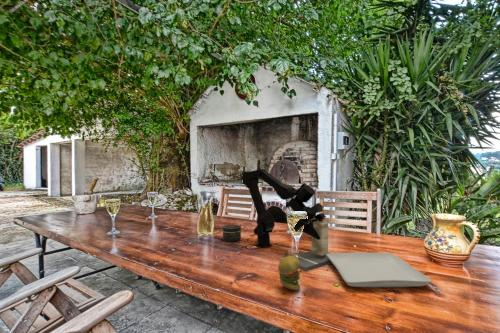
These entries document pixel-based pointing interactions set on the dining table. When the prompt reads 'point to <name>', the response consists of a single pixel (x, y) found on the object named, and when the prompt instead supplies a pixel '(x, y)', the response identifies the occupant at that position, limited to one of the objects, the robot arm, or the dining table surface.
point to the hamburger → (289, 272)
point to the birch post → (322, 244)
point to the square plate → (376, 270)
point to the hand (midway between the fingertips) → (322, 238)
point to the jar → (231, 233)
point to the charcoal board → (312, 260)
